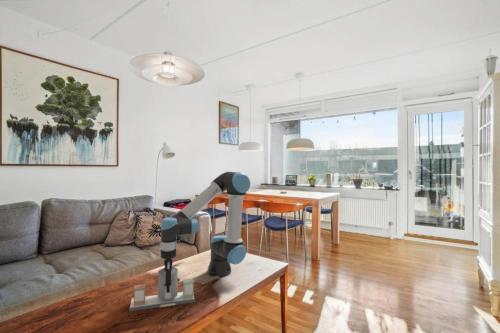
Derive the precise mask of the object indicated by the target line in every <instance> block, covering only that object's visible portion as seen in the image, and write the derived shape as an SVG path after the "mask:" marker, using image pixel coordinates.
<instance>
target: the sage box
mask: <svg viewBox="0 0 500 333" xmlns="http://www.w3.org/2000/svg"><path fill="white" fill-rule="evenodd" d="M194 286H195V285H194V278H188V279H187V278H186V279H183V280H182V292H183V299H188V298H193V294H194Z"/></svg>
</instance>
